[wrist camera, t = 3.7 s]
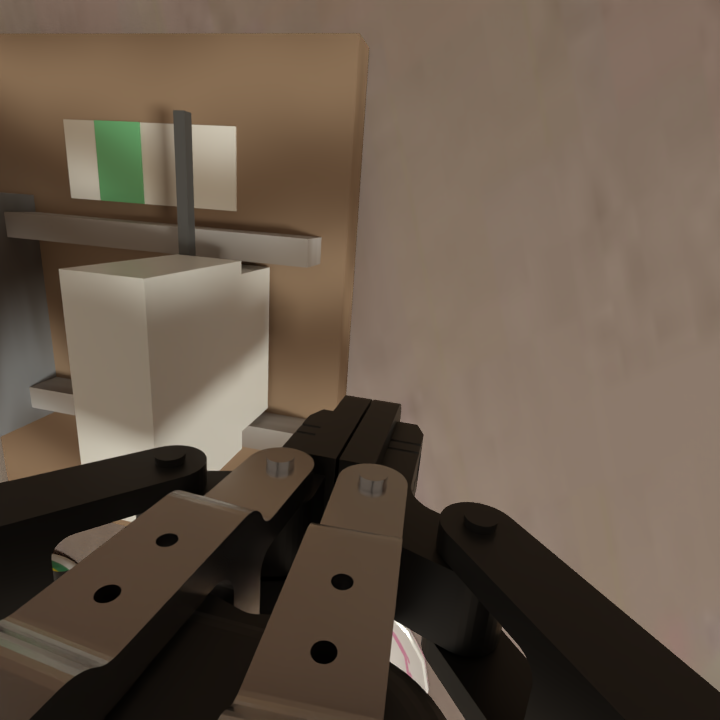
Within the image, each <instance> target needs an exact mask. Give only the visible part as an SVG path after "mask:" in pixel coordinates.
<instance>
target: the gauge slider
mask: <svg viewBox="0 0 720 720" xmlns="http://www.w3.org/2000/svg"><path fill="white" fill-rule="evenodd" d="M173 124H174V148H175V172H176V196H177V221H178V245H179V254H175V255H167V256H159V257H151V258H143V259H135V260H127V261H118V262H110V263H102V264H94V265H86V266H78V267H70V268H61V269H59V277H60V286H61V294H62V303H63V312H64V320H65V329H66V338H67V346H68V355H69V363H70V372H71V381H72V389H73V398H74V406H75V415H76V424H77V432H78V441H79V450H80V458H81V465H82V464H87V463H91V462H95V461H100V460H104V459H109V458H113V457H118V456H122V455H127V454H131V453H135V452H140V451H144V450H149V449H153V448H158V447H163V446H170V445H184V446H191V447H195V448H197V449H199V450H201V451H203V452H204V453H205V455H206V457H207V471H220V470H221V469H222V468H223V467H224V466H225V465H226V464H227V463H228V462H229V461H230V460H231V459H232V458H233V457H234V456H235V455H236V454H237V453H238V452H239V451H240V450H241V449H242V431H243V430H244V429H245V428H246V427H247V426H248V425H250V424H251V423H252V422H253V421H254V420H255V419H256V418H257V417H258V416H260V415H261V414H262V413H263V412H264V411H265V410H266V409H267V408H268V351H269V283H270V267H262V266H253V265H243V264H241V261H238V260H228V259H218V258H209V257H199V256H196V249H195V217H194V184H193V152H192V120H191V113H190V112H187V111H184V110H173ZM135 519H136V515H135V516H131V517H128V518H125V519H122V520H125V521H130V522H132V521H134V520H135Z"/></svg>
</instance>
